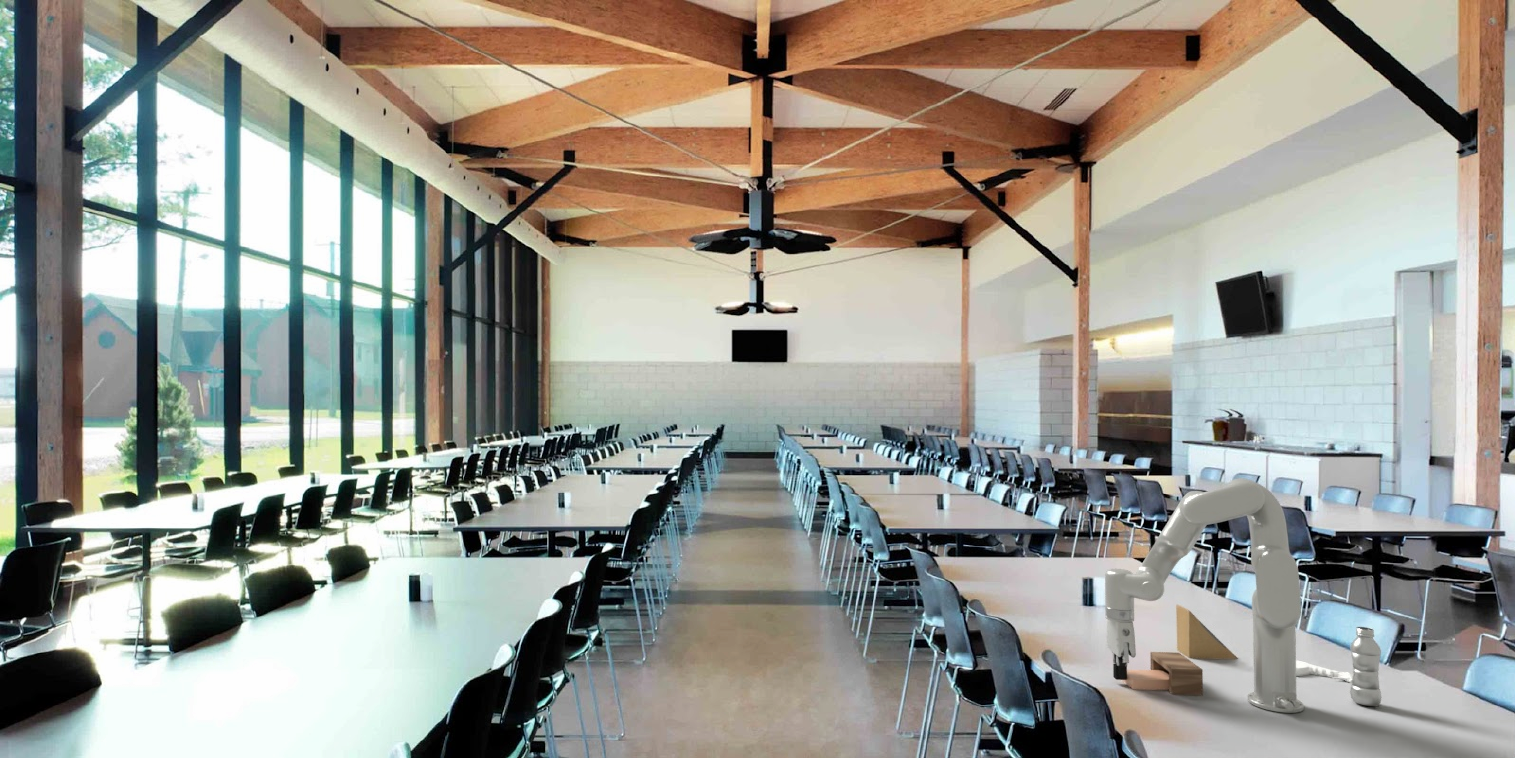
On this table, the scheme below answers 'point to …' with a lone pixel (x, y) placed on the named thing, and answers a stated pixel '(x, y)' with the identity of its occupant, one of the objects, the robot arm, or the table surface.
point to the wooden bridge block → (1179, 673)
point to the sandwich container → (1198, 638)
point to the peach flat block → (1147, 679)
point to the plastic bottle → (1365, 668)
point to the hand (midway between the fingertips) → (1120, 678)
